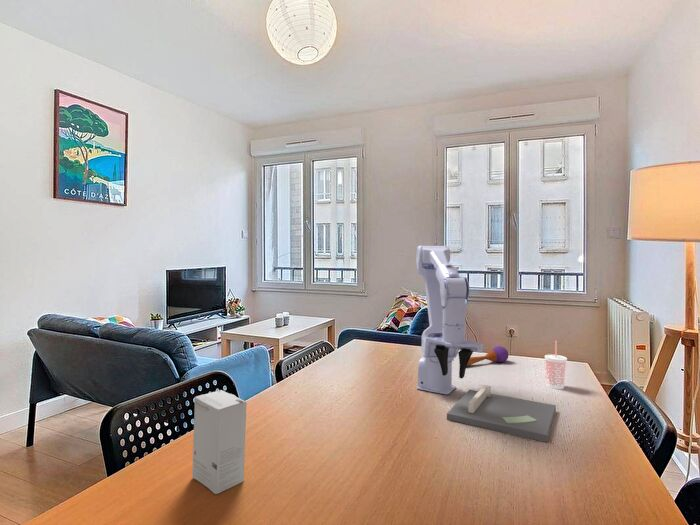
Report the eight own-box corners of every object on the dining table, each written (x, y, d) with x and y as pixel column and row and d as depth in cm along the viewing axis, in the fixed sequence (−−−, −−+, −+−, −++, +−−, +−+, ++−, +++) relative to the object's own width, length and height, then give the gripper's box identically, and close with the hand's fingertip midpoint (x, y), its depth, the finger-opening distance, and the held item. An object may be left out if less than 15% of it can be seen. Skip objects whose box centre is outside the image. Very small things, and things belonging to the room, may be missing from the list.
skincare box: (191, 478, 73) (190, 396, 73) (221, 465, 78) (220, 388, 78) (217, 496, 68) (216, 408, 68) (247, 481, 73) (247, 398, 72)
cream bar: (480, 392, 113) (480, 384, 113) (492, 394, 112) (492, 386, 111) (464, 411, 100) (464, 401, 100) (477, 414, 98) (477, 404, 98)
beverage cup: (544, 388, 122) (545, 341, 121) (543, 382, 128) (544, 337, 127) (567, 391, 120) (568, 343, 119) (565, 384, 125) (566, 339, 125)
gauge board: (446, 419, 99) (446, 412, 99) (469, 394, 116) (469, 388, 116) (546, 442, 88) (546, 434, 88) (555, 411, 105) (555, 404, 105)
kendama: (455, 353, 147) (498, 344, 155) (458, 370, 147) (501, 360, 154) (466, 354, 142) (510, 345, 150) (469, 371, 141) (513, 361, 149)
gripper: (421, 323, 106) (421, 375, 107) (478, 329, 99) (477, 385, 99) (431, 319, 112) (430, 368, 113) (485, 324, 105) (484, 377, 105)
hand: (453, 375), depth 106 cm, fingers open, 4 cm apart
